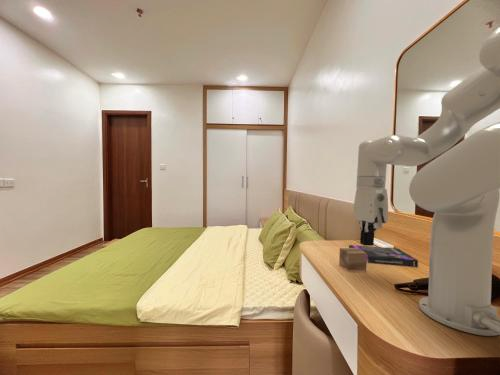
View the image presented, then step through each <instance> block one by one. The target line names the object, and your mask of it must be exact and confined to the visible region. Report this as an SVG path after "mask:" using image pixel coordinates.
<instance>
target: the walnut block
mask: <svg viewBox="0 0 500 375" xmlns="http://www.w3.org/2000/svg"><path fill="white" fill-rule="evenodd" d="M338 261H339V262H338V264H339V266H340V267H341V268H343V269H344V270H345V271H347V273H349V272H354V273H355V272H362V273H365V272H367V265H368V263H367V253H365V252H363V251H361V250H359V249H357V248H349V247H340V248H339V259H338Z"/></svg>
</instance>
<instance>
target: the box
mask: <svg viewBox="0 0 500 375" xmlns="http://www.w3.org/2000/svg"><path fill="white" fill-rule="evenodd" d="M348 248H357V249H359V250H361V251H363V252H365V253H367V264H377V265H385V266H386V265H388V266H399V267H413V268H418V267H419V260H418V259H416V258H414V257H412V255H410V254H408V253H406V252H404V251H403V250H401V249H399V248H394V247H380V246H379V247H378V246H368V245H356V244H349V245H348Z"/></svg>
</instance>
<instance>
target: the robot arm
mask: <svg viewBox="0 0 500 375" xmlns="http://www.w3.org/2000/svg"><path fill="white" fill-rule="evenodd" d="M478 53H479V55H478V57H479V58H478V59H479V63H480V64H481V66H480V67H479V68H478V69H476V70H475V71H473V72H472V73H471V74H469V76H467V77H465V79H463V80H462V81H460V82H459V83H458V84H457V85H455V86H454V87H453V88H451V89H450V90H449V91H448V92H446V93H445V94H444V95H443V96H442V98H441V102H440V103H441V111H440V112H441V113H440V115H439V117H438V119H437V120H436V121H435V122H433V124H432V125H431V126H430V127H428V128H427V129H426V130H425V131H423V132H422V133H421V134H419V135H418V136H416V137H410V136H404V135H398V134H392V135H386V136H384V137H380V138H378V139H372V140H366V141H362V142H361V143H360V144H359V146H358V151H357V153H358V156H357V169H356V172H357V173H356V186H355V187H356V191H355V194H354V195H355V196H354V203H353V216H354V218H355V221H356V222H357V223H358V224H359V230H360V240H359V241H360V242H359V243H360V245H362V246H369V247H374V244H375V242H374V240H375V233H376V232H377V230H378V229H382V228H383V224H387V223H388V219H389V199H388V198H389V197H388V190H387V188H386V180H387V165H392V166H403V167H404V166H405V167H417V166H420V165H422V164H425V163H427V162H428V163H427V164H425V165H424V166H422V168H420V169H419V170H418V171H417V172H416V173H415V174H414V175H413V177H412V178H411V181H410V182H409V186H408V187H409V188H408V190H409V191H408V192H409V195H410V198H411V201H413V203H414V204H416V205H417V206H418V207H419V208H421V209H423V210H426V211H428V212H430V213H431V212H432V213H434V214H433V217H432V220H431V221H432V222H431V226H430V238H429V240H430V241H429V242H430V243H429V268H428V270H429V271H428V294H427V295H428V296H425V297H422V298H420V299H419V300H418V301H419V302H418V306H419V308H420V311H422V312H423V313H424V314H425V315H426V316H427V317H429V318H431V319H433V320H434V321H436V322H438V323H440V324H441V325H444V326H447V327H449V328H451V329H455V330H457V331H461V332H464V333H469V334H472V335H476V336H477V335H478V336H484V337H491V336H493V337H494V336H498V335H499V336H500V317H499V316H498V308H497V307H496V306H494V305H492V304H491V303H492V302H491V301H492V300H491V299H492V281H493V280H492V279H493V278H492V277H493V276H492V275H493V251H494V250H493V249H494V234H495V233H494V232H495V225H496V224H495V223H496V217H497V213H498V208H499V202H500V121H499V122H496V123H493V124H490V125H488V126H486V127H483V128H482V129H479V130H478V131H476V132H474V133H473V134H471V135H469V136H468V137H466V138H465V139H463V140H462V141H460V140H461V139H462V138H464V136H465V135H466V134H467V133H468V132H469V131H470V130H471V129H472V127H473V126H475V125H476V124H478V123H479V122H480V121H482V120H484V119H485V118H487V117H488V116H489V115H492V114H493V113H494V112H496V111H498V110H499V109H500V26H498V28H496V29H495V30H493V32H492V33H491V34H489V35H488V37H487V38H486V39H485V41H484V42H483V44H482V45H481V47H480V49H479V52H478ZM459 141H460V142H459ZM458 142H459V143H458ZM434 158H435V159H434ZM432 159H433V160H432ZM429 161H430V162H429Z"/></svg>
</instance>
